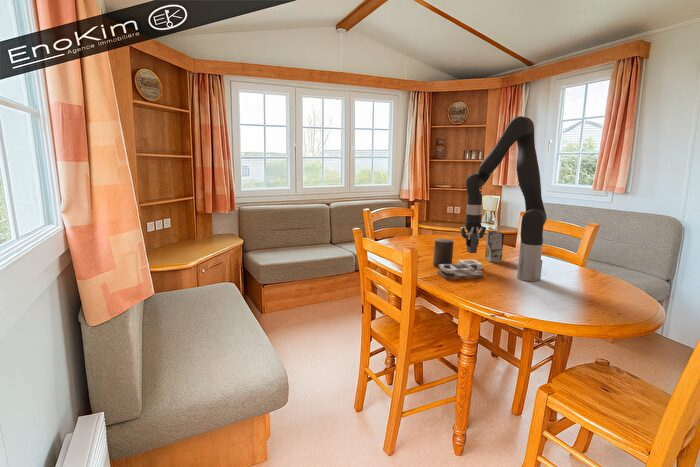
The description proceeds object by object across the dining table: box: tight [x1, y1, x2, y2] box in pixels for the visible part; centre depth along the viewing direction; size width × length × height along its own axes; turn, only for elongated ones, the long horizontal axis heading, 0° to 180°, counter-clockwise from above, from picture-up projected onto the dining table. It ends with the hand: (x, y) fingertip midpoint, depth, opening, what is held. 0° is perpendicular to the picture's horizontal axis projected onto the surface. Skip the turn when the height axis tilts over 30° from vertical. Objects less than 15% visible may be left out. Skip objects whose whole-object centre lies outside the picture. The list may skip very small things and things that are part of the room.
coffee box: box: [484, 230, 505, 263], centre depth 206 cm, size 9×6×16 cm
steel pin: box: [466, 233, 478, 254], centre depth 192 cm, size 4×4×10 cm
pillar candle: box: [432, 238, 455, 268], centre depth 195 cm, size 10×10×15 cm
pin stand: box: [457, 259, 483, 270], centre depth 194 cm, size 9×9×2 cm
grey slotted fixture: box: [436, 263, 484, 281], centre depth 180 cm, size 19×10×6 cm, turn 100°
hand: (472, 246), depth 192 cm, fingers closed on steel pin, 3 cm apart
